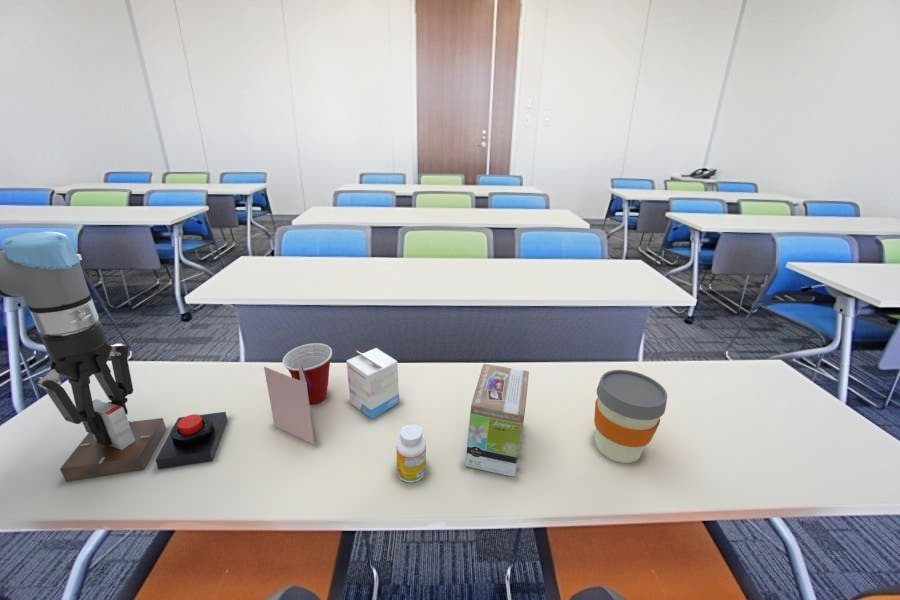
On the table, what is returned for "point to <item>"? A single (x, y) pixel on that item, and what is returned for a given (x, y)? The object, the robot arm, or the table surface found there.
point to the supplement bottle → (411, 454)
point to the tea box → (497, 419)
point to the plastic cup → (311, 368)
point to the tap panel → (114, 453)
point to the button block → (193, 443)
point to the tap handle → (115, 423)
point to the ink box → (373, 382)
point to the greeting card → (290, 403)
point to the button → (190, 424)
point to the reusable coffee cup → (627, 414)
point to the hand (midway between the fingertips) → (113, 437)
